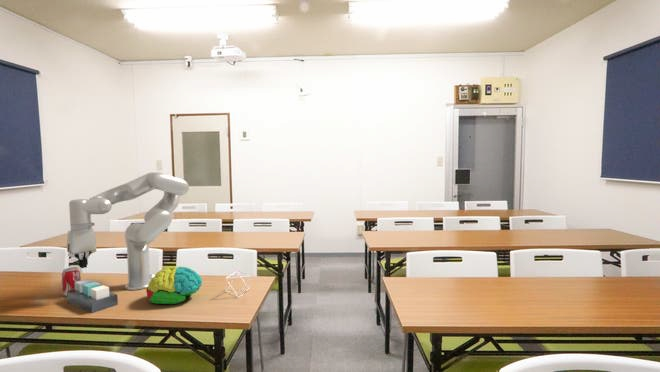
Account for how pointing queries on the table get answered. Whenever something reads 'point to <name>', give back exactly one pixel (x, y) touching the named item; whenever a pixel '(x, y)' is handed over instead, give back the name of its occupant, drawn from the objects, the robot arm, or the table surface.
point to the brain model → (173, 285)
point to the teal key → (89, 288)
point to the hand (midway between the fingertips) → (83, 267)
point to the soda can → (70, 279)
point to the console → (91, 301)
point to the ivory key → (99, 292)
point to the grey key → (79, 285)
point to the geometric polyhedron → (242, 279)
